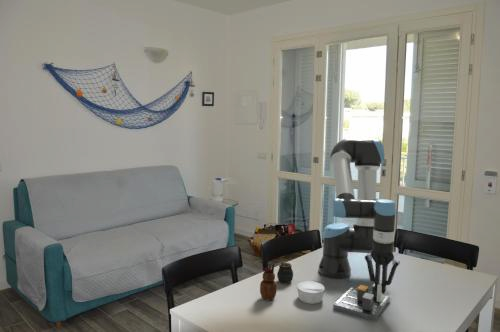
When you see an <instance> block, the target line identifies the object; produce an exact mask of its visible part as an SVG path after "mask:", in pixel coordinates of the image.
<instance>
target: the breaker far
mask: <svg viewBox="0 0 500 332" xmlns="http://www.w3.org/2000/svg"><path fill="white" fill-rule="evenodd" d="M371 286H372V288H371V289H372V290H371V292H372V294H373V295H374V298H377V292H375V283H374V282H373V284H372V285H371Z"/></svg>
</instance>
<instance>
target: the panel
mask: <svg viewBox="0 0 500 332" xmlns="http://www.w3.org/2000/svg"><path fill="white" fill-rule="evenodd" d="M357 291H358V287H354V286H351V287H349V288H348V289H347V290H346V291H345V292H344V293H343V294H342V295H341V296H340V297H339V298H338V299H337V300H336V301H335V302H334V303H332V309H333V310H335V311H337V312H342V313H345V314H347V315H351V316H354V317H358V318H361V319H365V320H367V321H371V322H376V321H377V320H378V318H379V317H380V316H381V314H382V313H383V311H384V310H385V308H386V307H387V305H388V304H389V303H390V301H391V296H389V295H385V294H383V300H382V301H381V302H378V301H377V298H374V299H373V308H372V309H371V310H370V311H368V310H365V309H362V301H359V300H357ZM368 293H369V294H372V291H370V290H368Z"/></svg>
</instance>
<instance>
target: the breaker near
mask: <svg viewBox="0 0 500 332" xmlns="http://www.w3.org/2000/svg"><path fill="white" fill-rule="evenodd" d="M373 299H374V295H373V294H369V293H365V294H364V295H363V301H362V309H365V310H368V311H370V310H371V309H372V308H373Z"/></svg>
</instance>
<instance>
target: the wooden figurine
mask: <svg viewBox="0 0 500 332" xmlns="http://www.w3.org/2000/svg"><path fill="white" fill-rule="evenodd" d="M274 272H275V262H273V263H272V266H271V264H270V263H269V266H266V267H265V268H264V272H263V273H262V281H260V285H259V293H260V296H261V298H263V300H266V301H273V300H274V299H275V297H276V296H277V290H278V285H277V282H276V280H275V279H276V274H275V273H274Z"/></svg>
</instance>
